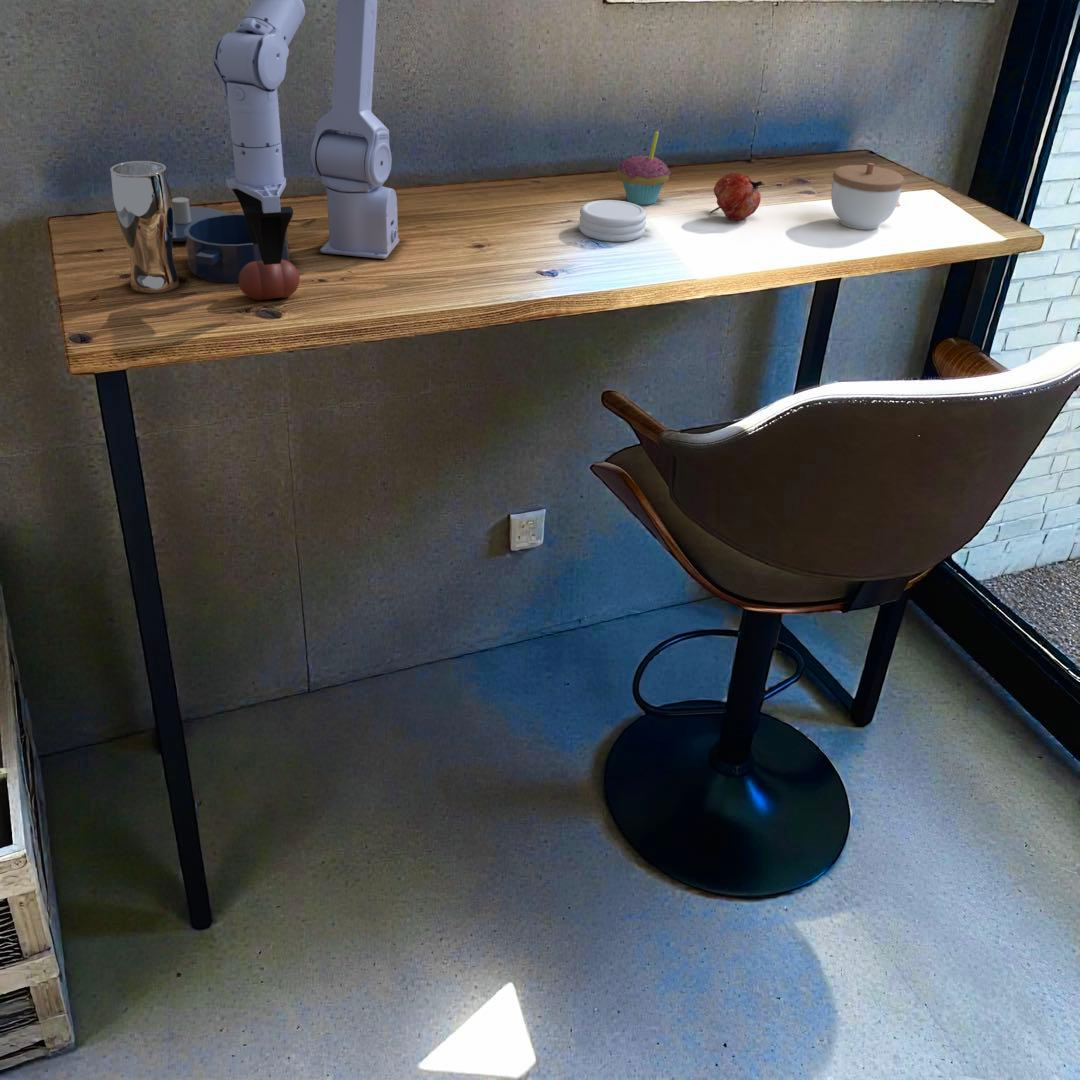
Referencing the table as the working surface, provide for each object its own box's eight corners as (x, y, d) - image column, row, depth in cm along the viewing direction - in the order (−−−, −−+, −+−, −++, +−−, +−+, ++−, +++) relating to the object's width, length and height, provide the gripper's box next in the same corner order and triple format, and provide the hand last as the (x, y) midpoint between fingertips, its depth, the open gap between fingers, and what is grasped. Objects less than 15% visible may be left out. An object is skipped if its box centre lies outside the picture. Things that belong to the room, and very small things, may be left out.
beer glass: (133, 275, 154) (115, 159, 145) (187, 275, 154) (172, 160, 146) (122, 294, 148) (102, 175, 140) (178, 295, 148) (162, 176, 140)
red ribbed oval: (296, 288, 152) (293, 252, 150) (304, 301, 148) (301, 265, 146) (237, 293, 150) (233, 257, 147) (243, 307, 146) (239, 270, 143)
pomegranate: (706, 235, 184) (756, 208, 177) (689, 191, 183) (739, 162, 176) (730, 230, 189) (781, 203, 182) (714, 187, 189) (764, 159, 182)
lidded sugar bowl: (842, 235, 179) (853, 174, 174) (814, 213, 188) (824, 154, 183) (905, 233, 181) (919, 173, 176) (875, 212, 190) (887, 153, 185)
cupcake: (675, 199, 191) (683, 124, 185) (651, 212, 185) (658, 134, 179) (630, 189, 195) (636, 115, 189) (604, 201, 189) (610, 125, 182)
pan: (312, 249, 165) (309, 214, 162) (254, 295, 150) (250, 257, 147) (226, 238, 167) (222, 203, 164) (160, 282, 152) (155, 245, 149)
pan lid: (250, 220, 174) (247, 191, 172) (205, 250, 163) (201, 220, 160) (163, 209, 177) (159, 180, 174) (113, 238, 165) (108, 208, 163)
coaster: (565, 230, 176) (566, 207, 174) (607, 217, 182) (609, 194, 180) (616, 247, 171) (617, 224, 169) (657, 233, 177) (660, 210, 175)
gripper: (213, 128, 143) (225, 236, 150) (232, 160, 132) (243, 275, 139) (271, 125, 145) (280, 232, 152) (294, 156, 134) (302, 270, 141)
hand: (266, 253), depth 146 cm, fingers open, 7 cm apart
